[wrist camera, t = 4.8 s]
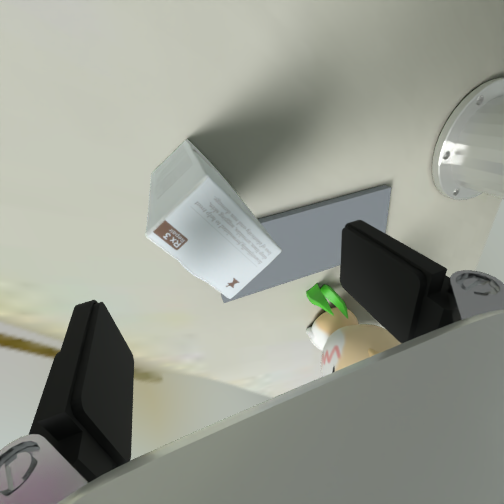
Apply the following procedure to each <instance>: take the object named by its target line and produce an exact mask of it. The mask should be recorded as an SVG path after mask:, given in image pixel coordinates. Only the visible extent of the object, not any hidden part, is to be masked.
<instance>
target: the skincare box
mask: <svg viewBox="0 0 504 504" xmlns="http://www.w3.org/2000/svg"><path fill="white" fill-rule="evenodd" d="M146 237H147V238H148V239H149V240H150V241H152V242H153V243H155V244H156V245H157V246H159V247H160V248H161V249H163V250H164V251H165V252H167V253H168V254H169V255H171V256H172V257H173V258H175V259H176V260H177V261H179V262H180V263H181V265H182V266H183V267H184V268H185V269H186V270H187V271H189V272H190V273H191V274H193V275H194V276H195V277H197V278H199V279H201V280H203V281H205V282H207V283H208V284H209V285H211V286H212V287H213V288H215V289H216V290H217V291H219V292H220V293H222V294H223V295H224V296H226V297H227V298H229V299H231V298H233V297H234V296H235V295H236V294H237V293H238V292H239V291H240V290H242V289H243V288H244V287H245V286H246V285H247V284H248V283H249V282H250V281H251V280H252V279H253V278H255V277H256V276H257V275H258V274H259V273H260V272H261V271H262V270H263V269H264V268H265V267H266V266H268V265H269V264H270V263H271V262H272V261H273V260H274V259H275V258H276V257H277V256H278V255H279V254H280V253H281V251H282V249H281V248H280V247H279V246H278V245H277V244H276V243H275V241H274V240H273V239H272V238H271V236H270V235H269V234H268V232H267V231H266V230H265V228H264V227H263V226H262V225H261V223H260V222H259V221H258V220H257V218H256V217H255V216H254V215H253V213H252V212H251V211H250V210H249V208H248V207H247V206H246V205H245V203H244V202H243V201H242V200H241V198H240V197H239V196H238V194H237V193H236V192H235V191H234V189H233V188H232V187H231V186H230V184H229V183H228V182H227V181H226V180H225V178H224V177H223V176H222V175H221V174H220V173H219V171H218V170H217V169H216V168H215V167H214V166H213V165H212V164H211V163H210V161H209V160H208V159H207V158H206V157H205V156H204V155H203V154H202V153H201V152H200V151H199V150H198V149H197V148H196V147H195V146H194V145H193V144H192V143H191V142H190V141H189V140H188V139H186V140H185V141H184V142H183V143H182V144H181V145H180V146H179V147H178V148H177V149H176V150H175V151H174V152H173V153H172V154H171V155H170V156H169V157H168V158H167V159H166V160H165V161H164V162H163V163H162V164H161V165H160V166H159V167H157V168H156V169H155V170H154V171H153V172H152V173H151V184H150V194H149V207H148V217H147V227H146Z"/></svg>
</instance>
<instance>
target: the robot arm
mask: <svg viewBox="0 0 504 504" xmlns="http://www.w3.org/2000/svg"><path fill="white" fill-rule="evenodd" d="M432 175H433V180H434V183H435V186H436V188H437V189H438V191H439V192H440V193H441V194H443V195H444V196H447V197H449V198H452V199H456V200H467V199H470V198H473V197H476V196H478V195H480V194H482V193H485V194H488V195H492V196H495V197H499V198H502V199H504V78H498V79H493V80H490V81H488V82H486V83H484V84H482V85H480V86H479V87H478V88H476V89H475V90H473V91H472V92H471V93H470V94H469V95H468V96H467V97H466V98H465V99H463V100H462V102H461V103H460V104H459V105H458V106H457V108H456V109H455V110H454V111H453V113H452V114H451V116H450V117H449V119H448V120H447V122H446V124H445V126H444V128H443V130H442V132H441V134H440V136H439V138H438V141H437V144H436V147H435V151H434V155H433V162H432ZM446 271H447V269H446V268H445V267H443V266H441V265H439V264H438V263H436V262H434V261H432V260H431V259H429V258H427V257H425V256H424V255H422V254H420V253H418V252H417V251H415V250H413V249H411V248H410V247H408V246H406V245H404V244H403V243H401V242H399V241H397V240H396V239H394V238H392V237H390V236H389V235H387V234H385V233H383V232H382V231H380V230H378V229H376V228H375V227H373V226H371V225H369V224H368V223H366V222H364V221H363V220H356V221H353V222H350V223H347V224H346V225H345V228H343V229H342V240H341V267H340V282H341V285H342V287H343V288H344V289H345V290H346V291H347V292H348V293H349V294H350V295H351V296H352V297H353V298H354V299H355V300H356V301H357V302H358V303H359V304H360V305H362V306H363V307H364V308H365V309H366V310H367V311H368V312H369V313H370V314H371V315H372V316H373V317H374V318H375V319H376V320H377V321H378V322H379V323H380V324H381V325H382V326H383V327H384V328H385V329H386V330H387V331H388V332H390V333H391V334H392V335H393V336H394V337H395V338H396V339H397V340H398V341H399V342H400V343H402V344H400V345H397V346H395V347H393V348H390V349H388V350H385V351H383V352H381V353H378V354H376V355H373V356H371V357H369V358H366V359H364V360H361V361H359V362H357V363H354V364H352V365H350V366H347V367H345V368H343V369H340V370H338V371H335V372H333V373H331V374H328V375H326V376H324V377H321V378H319V379H317V380H314V381H312V382H310V383H307V384H305V385H302V386H300V387H298V388H295V389H293V390H291V391H288V392H286V393H284V394H281V395H279V396H277V397H274V398H272V399H270V400H267V401H265V402H263V403H260V404H258V405H256V406H253V407H251V408H249V409H246V410H244V411H242V412H240V413H237V414H235V415H233V416H230V417H228V418H226V419H223V420H221V421H219V422H216V423H214V424H212V425H209V426H207V427H205V428H203V429H201V430H198V431H195V432H193V433H191V434H189V435H186V436H184V437H182V438H180V439H177V440H175V441H173V442H171V443H169V444H166V445H164V446H162V447H160V448H158V449H155V450H153V451H151V452H149V453H146V454H144V455H142V456H140V457H138V458H135V459H133V460H131V461H130V459H131V437H132V408H133V407H132V406H133V378H134V359H133V355H132V353H131V351H130V349H129V347H128V345H127V344H126V342H125V340H124V338H123V336H122V335H121V333H120V331H119V329H118V327H117V326H116V324H115V322H114V320H113V319H112V317H111V315H110V313H109V311H108V310H107V308H106V306H105V304H104V303H103V302H100V303H98V302H97V301H96V300H92V301H89V302H85V303H82V304H79V305H76V306H75V308H74V310H73V314H72V317H71V320H70V323H69V326H68V329H67V332H66V335H65V338H64V342H63V345H62V348H61V351H60V352H58V353H57V354H56V356H55V358H54V361H53V364H52V367H51V370H50V373H49V376H48V379H47V382H46V385H45V388H44V391H43V394H42V397H41V400H40V403H39V406H38V409H37V412H36V415H35V417H34V420H33V424H32V426H31V429H30V432H29V435H26V436H23V437H20V438H19V439H17V440H15V441H13V442H11V443H9V444H8V445H7V446H5V447H4V448H3V449H1V450H0V504H504V284H503V283H502V282H501V281H500V280H498V279H497V278H495V277H493V276H491V275H489V274H486V273H482V272H478V271H472V270H463V271H457V272H455V273H453V274H452V275H451V277H450V278H449V277H447V276H446V275H445V274H446Z"/></svg>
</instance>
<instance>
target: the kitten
mask: <svg viewBox="0 0 504 504" xmlns="http://www.w3.org/2000/svg"><path fill="white" fill-rule="evenodd" d="M306 293H307V297H308V299H309V301H310V302H311V303H312V304H314V305H317V306H319V307H321V308H322V309H324V310H325V311H326V312H324V313H323V314H321V315H320V316H319V317H318V318H317V319H316V320H315V321H314V323H313V325H312V327H309V328H307V329H306V333H307V335H308V336H309V337H310V340H311V342H312V343H313V344H314V345H315V346H316V347H317V348H319V349H320V350H322V351H323V352H322V357H321V374H322V377H324V376H326V375H328V374H331V373H333V372H335V371H338V370H340V369H343V368H345V367H347V366H350V365H352V364H354V363H357V362H359V361H361V360H364V359H366V358H369V357H371V356H373V355H376V354H378V353H381V352H383V351H385V350H388V349H390V348H393V347H395V346H397V345H400V344H402V343H400V342H399V341H398V340H397V339H396V338H395V337H394V336H393V335H392V334H391V333H390V332H388V331H387V330H386V329H384V328H382V327H379V326H375V325H369V324H358V321H357V318H356V317H355V315H354V314H353V313H352V312H351V311H350V310H348V309H347V307H346V305H345V303H344V301H343V300H342V299H341V297H340V296H339V295H338V294H337V293H336V292H335V291H334V290H333V289H332V288H331V287H330V286H329V285H325V284H324V285H323V286H322V287H321V289H319V287H318V284H316V285H314V286H313V287H312V288H311V289H310V290H308V291H307V292H306ZM325 297H326V298H327V299H328V300H329V301H330V302H332V303H333V304H334V305H335V306H336V308H332V309H331V308H330V306H329V304H328V302H327V300H326V298H325Z"/></svg>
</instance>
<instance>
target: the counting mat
mask: <svg viewBox="0 0 504 504" xmlns="http://www.w3.org/2000/svg"><path fill="white" fill-rule="evenodd" d="M390 193H391V187H389V186H386V185H382V186H378V187H375V188H371V189H367V190H364V191H360V192H356V193H353V194H349V195H345V196H342V197H338V198H334V199H331V200H327V201H323V202H320V203H316V204H312V205H309V206H305V207H301V208H297V209H294V210H290V211H286V212H283V213H279V214H275V215H272V216H268V217H264V218H261V219H257V220H258V221H259V222H260V223H261V225H262V226H263V227H264V228H265V230H266V231H267V232H268V234H269V235H270V236H271V238H272V239H273V240H274V241H275V243H276V244H277V245H278V246H279V247H280V248H281V249H282V251H281V253H280V254H279V255H278V256H277V257H276V258H275V259H274V260H273V261H272V262H271V263H270V264H269V265H268V266H266V267H265V268H264V269H263V270H262V271H261V272H260V273H259V274H258V275H257V276H256V277H255V278H253V279H252V280H251V281H250V282H249V283H248V284H247V285H246V286H245V287H244V288H243V289H242V290H240V291H239V292H238V293H237V294H236V295H235V296H234V297H233V298H231V299H229V298H227V297H226V296H224V295H223V294H222V293H221V296H222V299H223V302H224V303H226V302H229V301H232V300H235V299H238V298H241V297H244V296H247V295H250V294H253V293H256V292H259V291H262V290H265V289H269V288H272V287H275V286H278V285H281V284H284V283H287V282H290V281H293V280H296V279H299V278H302V277H305V276H308V275H311V274H314V273H318V272H321V271H324V270H327V269H330V268H333V267H336V266H339V265H341V240H342V229H343V228H345V225H346V224H347V223H350V222H353V221H356V220H363V221H364V222H366V223H368V224H369V225H371V226H373V227H375V228H376V229H378V230H380V231H382V232H383V233H385V232H386V224H387V217H388V209H389V201H390Z"/></svg>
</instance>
